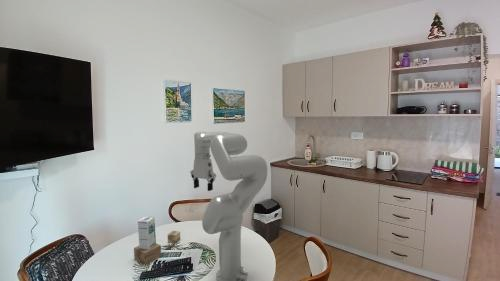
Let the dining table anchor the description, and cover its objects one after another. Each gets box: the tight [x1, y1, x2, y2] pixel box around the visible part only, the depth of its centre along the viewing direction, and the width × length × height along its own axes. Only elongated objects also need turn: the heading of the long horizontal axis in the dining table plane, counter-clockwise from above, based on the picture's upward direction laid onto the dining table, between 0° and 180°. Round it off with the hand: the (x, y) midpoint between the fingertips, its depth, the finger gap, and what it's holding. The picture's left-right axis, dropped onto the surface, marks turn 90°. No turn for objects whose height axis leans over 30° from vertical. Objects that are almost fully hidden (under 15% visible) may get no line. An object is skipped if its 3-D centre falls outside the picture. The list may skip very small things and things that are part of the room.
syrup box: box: [137, 215, 157, 250], centre depth 130 cm, size 6×6×14 cm
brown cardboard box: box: [133, 243, 162, 266], centre depth 131 cm, size 9×9×6 cm
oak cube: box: [167, 230, 181, 245], centre depth 148 cm, size 5×5×5 cm
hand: (203, 188), depth 135 cm, fingers open, 9 cm apart
